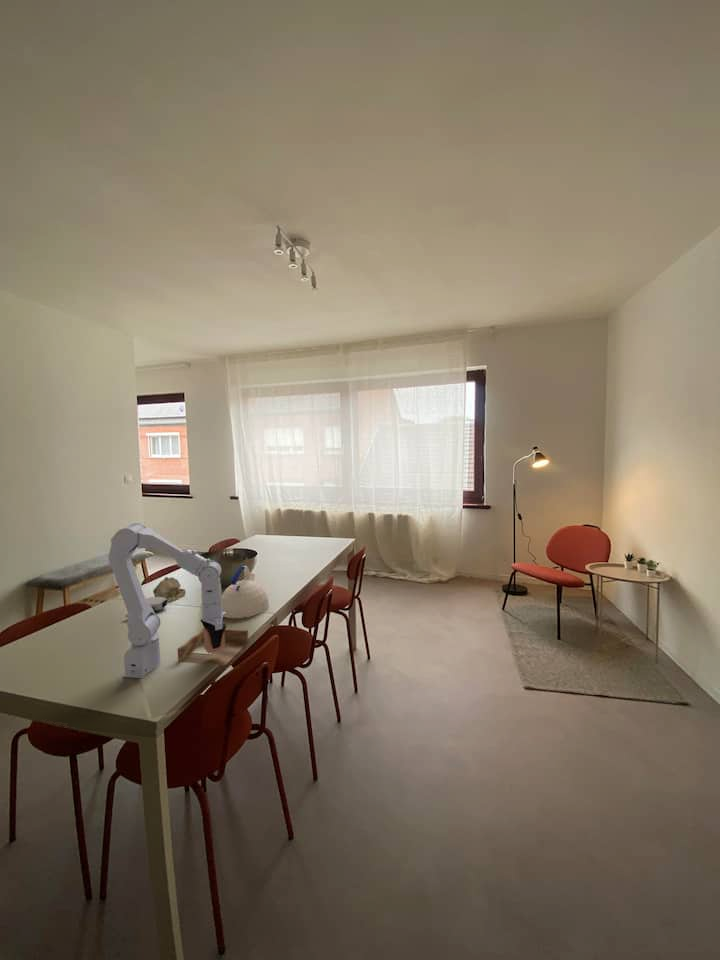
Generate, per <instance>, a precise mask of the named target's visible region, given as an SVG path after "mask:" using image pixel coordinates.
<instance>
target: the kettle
mask: <svg viewBox="0 0 720 960" xmlns="http://www.w3.org/2000/svg"><path fill="white" fill-rule="evenodd" d="M243 571H244V572H243ZM250 571H251V570H250V569H249V567H248V566H246V565H241V566H240V567H238V569H237V570H235V573H234V574H233V576H232V579H231V582H230V585H229V586H228V587H227V588H226V589H225V590H224V591H223V593H221V596H222V612H224V611H225V612H226V615H225V616H223V618H228V619H234V618H236V619H245V618H244V617H246V618H251V617H254V615H255V616H257V614H258V615H260V614H262V613H264V612H265V611H266V610H268V609H269V607H270V604H269V596H268V593H267V591H266V590H265V588H264V587H263V586H262V585H261V584H259V583H258V582H256V581H255V577H256V574H255V573H254V572H250ZM242 572H243V573H244V579H242V580H238V579H239V576H240V575H241V573H242ZM250 616H251V617H250Z"/></svg>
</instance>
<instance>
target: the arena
mask: <svg viewBox="0 0 720 960" xmlns="http://www.w3.org/2000/svg"><path fill="white" fill-rule="evenodd" d="M203 629H204V628H203ZM203 629H201V630H200V631H198V632H196V634H195V635H194V636H192V637H191V638H189V639H188V640H187V641H186V642H184V643H182V645H180V646H179V647H178V648H177V661H178V663H180V662H181V663H193V664H203V665H204V664H205V665H207V664H208V665H220V666H227V665H228V664H229V662H230V661H232V660H233V658H234V657H235V656H236V655H237V654H238V653H239V652H240V651H241V650H242V649H243V648H245V646H246V645H247V644H248V643H249V629H242V628H241V629H239V628H238V629H237V628H225V630H224V638H225V649H222V650H219V651H215V652H212V653H208V652H207V651H206V649H205V647H204V630H203Z"/></svg>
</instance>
